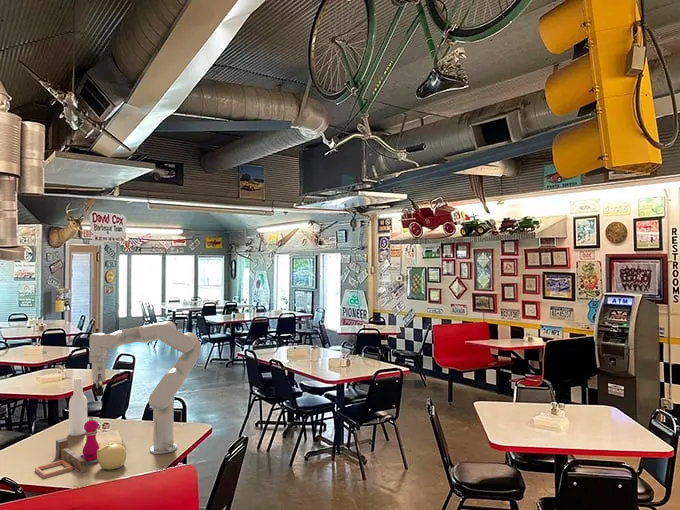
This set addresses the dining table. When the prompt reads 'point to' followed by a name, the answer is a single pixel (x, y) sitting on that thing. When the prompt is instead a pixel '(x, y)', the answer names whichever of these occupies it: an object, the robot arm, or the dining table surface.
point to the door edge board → (69, 455)
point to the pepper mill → (90, 440)
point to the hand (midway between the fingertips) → (98, 393)
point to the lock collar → (40, 472)
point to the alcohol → (77, 409)
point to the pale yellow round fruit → (111, 456)
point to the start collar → (89, 461)
